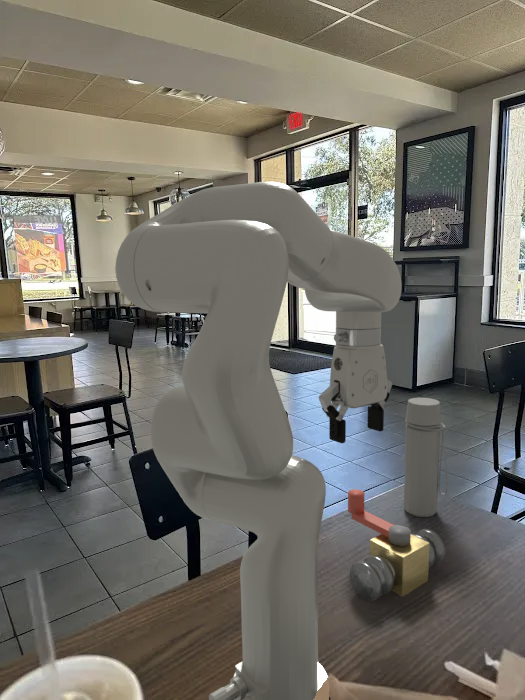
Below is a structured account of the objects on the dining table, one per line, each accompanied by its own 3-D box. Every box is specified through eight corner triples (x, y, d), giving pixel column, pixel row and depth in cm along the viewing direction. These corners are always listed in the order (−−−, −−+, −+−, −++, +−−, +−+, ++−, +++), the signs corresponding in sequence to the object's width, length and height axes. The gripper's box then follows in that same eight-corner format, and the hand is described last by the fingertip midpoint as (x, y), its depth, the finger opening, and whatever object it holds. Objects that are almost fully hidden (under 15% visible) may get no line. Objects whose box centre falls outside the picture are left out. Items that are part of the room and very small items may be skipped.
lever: (414, 541, 86) (415, 513, 86) (401, 548, 84) (402, 520, 84) (356, 512, 97) (356, 487, 96) (343, 518, 95) (343, 492, 94)
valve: (379, 610, 80) (380, 569, 79) (347, 589, 85) (347, 550, 84) (446, 569, 90) (448, 532, 89) (414, 552, 96) (415, 517, 95)
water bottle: (399, 515, 110) (401, 403, 106) (407, 500, 117) (409, 395, 113) (443, 524, 106) (448, 408, 102) (449, 508, 113) (453, 399, 109)
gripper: (338, 345, 78) (337, 452, 80) (408, 335, 88) (405, 430, 91) (305, 340, 84) (305, 440, 86) (374, 331, 94) (372, 421, 97)
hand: (356, 435), depth 89 cm, fingers open, 9 cm apart
